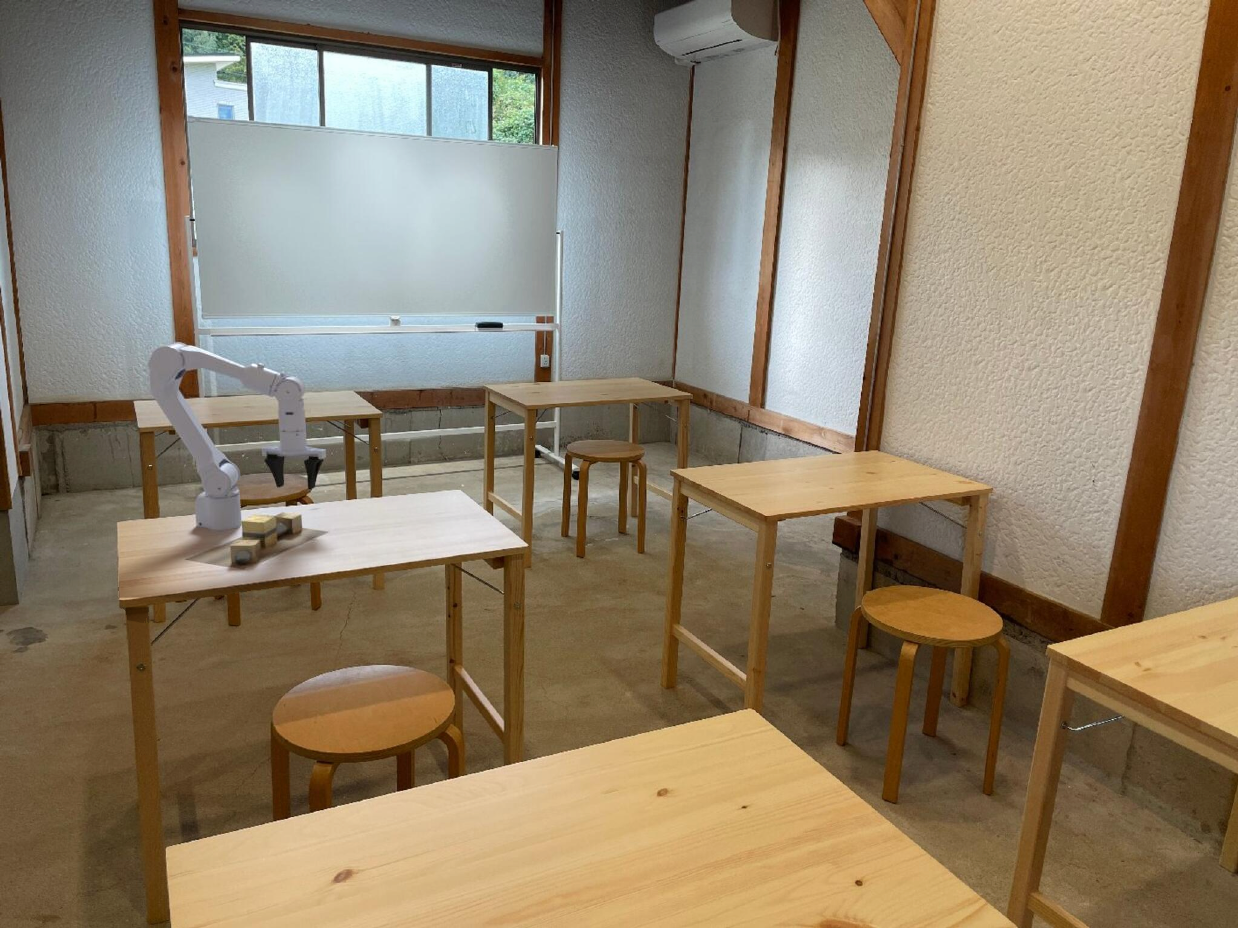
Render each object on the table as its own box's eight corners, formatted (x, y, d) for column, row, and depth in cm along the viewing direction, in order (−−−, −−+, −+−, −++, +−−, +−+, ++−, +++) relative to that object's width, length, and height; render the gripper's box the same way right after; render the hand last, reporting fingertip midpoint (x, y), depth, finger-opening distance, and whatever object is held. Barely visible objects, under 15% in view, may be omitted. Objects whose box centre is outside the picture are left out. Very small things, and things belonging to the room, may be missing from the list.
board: (185, 564, 182) (184, 559, 182) (275, 528, 207) (275, 523, 206) (244, 574, 177) (243, 569, 177) (329, 536, 202) (329, 531, 202)
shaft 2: (281, 540, 195) (280, 523, 194) (262, 538, 196) (261, 521, 195) (305, 528, 203) (304, 512, 203) (286, 526, 205) (285, 510, 204)
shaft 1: (243, 550, 188) (242, 533, 187) (266, 550, 188) (265, 533, 187) (229, 565, 179) (228, 547, 178) (254, 565, 179) (253, 547, 178)
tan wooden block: (243, 548, 189) (241, 521, 188) (255, 540, 194) (253, 514, 193) (265, 549, 189) (263, 522, 187) (277, 542, 194) (275, 515, 192)
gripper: (253, 431, 199) (257, 489, 202) (315, 434, 198) (318, 493, 201) (269, 425, 206) (272, 482, 209) (328, 428, 204) (331, 485, 208)
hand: (296, 487), depth 205 cm, fingers open, 7 cm apart
